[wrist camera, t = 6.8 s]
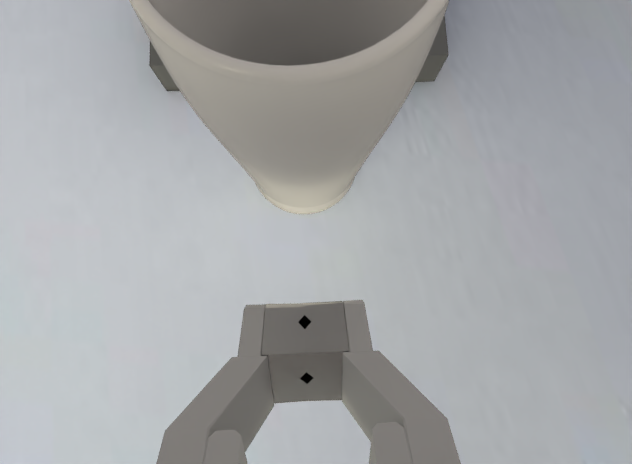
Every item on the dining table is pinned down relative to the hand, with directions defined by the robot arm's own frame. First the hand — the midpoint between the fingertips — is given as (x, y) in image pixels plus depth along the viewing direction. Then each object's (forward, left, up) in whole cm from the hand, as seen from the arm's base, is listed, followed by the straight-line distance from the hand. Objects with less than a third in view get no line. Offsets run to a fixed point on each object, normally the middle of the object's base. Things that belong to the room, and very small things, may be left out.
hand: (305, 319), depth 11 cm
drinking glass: (-5, +5, -11) cm, 13 cm away
